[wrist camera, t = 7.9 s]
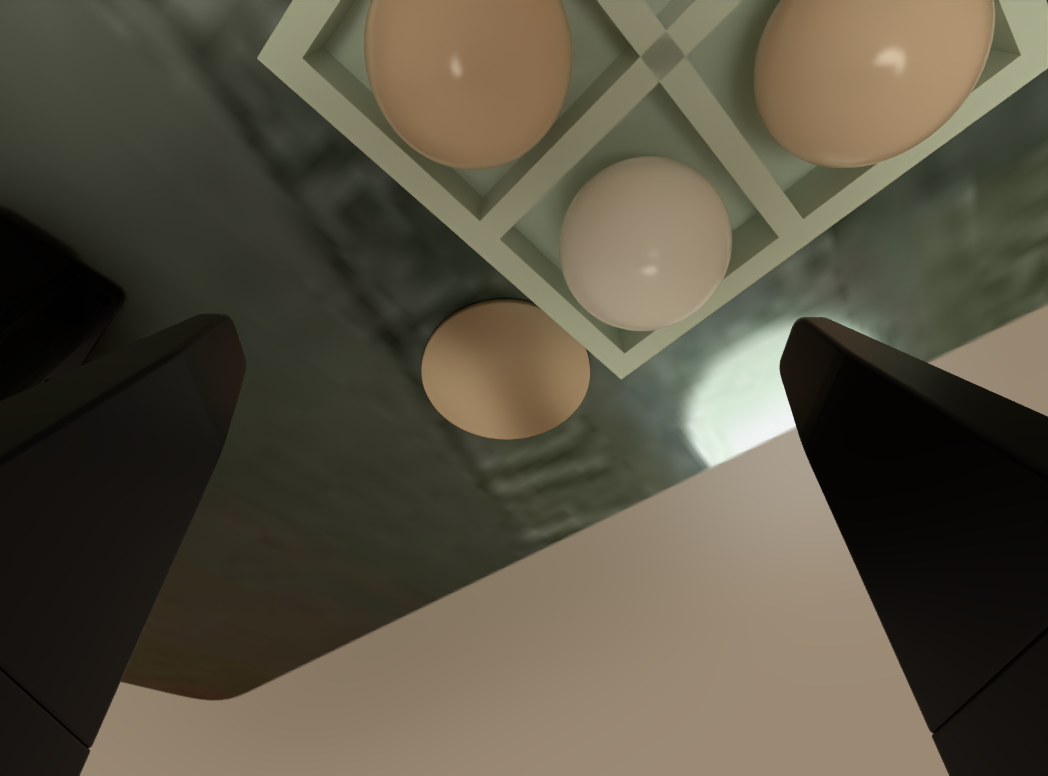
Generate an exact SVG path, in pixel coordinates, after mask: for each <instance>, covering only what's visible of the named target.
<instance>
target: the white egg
mask: <svg viewBox="0 0 1048 776" xmlns="http://www.w3.org/2000/svg"><path fill="white" fill-rule="evenodd" d="M731 252H732V227H731V221H730V217H729V214H728V210H727V207H726V205H725V203H724V201H723V199H722V197H721V196H720V194H719V193H718V191H717V190H716V188H715V187H714V185H713V184H712V183H711V182H710V181H709V180H708V179H707V178H706V177H705V176H703V175H702V174H701V173H700V172H698V171H697V170H696V169H694V168H693V167H691V166H689V165H687V164H685V163H682V162H680V161H677V160H674V159H671V158H666V157H661V156H640V157H634V158H629V159H625V160H623V161H620V162H617V163H614V164H612V165H610V166H608V167H606V168H605V169H603V170H602V171H600V172H599V173H597V174H596V175H594V176H593V177H592V178H591V179H590V180H589V181H587V182H586V183H585V185H584V186H583V187H582V188H581V189H580V190H579V191H578V193H577V194H576V195H575V197H574V198H573V200H572V201H571V203H570V205H569V207H568V209H567V211H566V214H565V217H564V219H563V222H562V226H561V230H560V236H559V260H560V265H561V270H562V273H563V276H564V279H565V282H566V284H567V286H568V288H569V290H570V291H571V293H572V294H573V296H574V297H575V299H576V300H577V301H578V303H579V304H580V305H581V306H582V307H583V308H584V309H585V310H586V311H588V312H589V313H590V314H591V315H593V316H594V317H595V318H597V319H599V320H600V321H602V322H604V323H606V324H609V325H611V326H614V327H617V328H620V329H624V330H631V331H651V330H657V329H662V328H666V327H669V326H672V325H675V324H677V323H679V322H681V321H683V320H685V319H687V318H688V317H690V316H691V315H693V314H694V313H696V312H697V311H698V310H699V309H700V308H702V307H703V306H704V305H705V304H706V303H707V302H708V301H709V300H710V298H711V297H712V296H713V295H714V293H715V292H716V291H717V289H718V287H719V286H720V284H721V282H722V280H723V278H724V276H725V274H726V271H727V268H728V265H729V262H730V258H731Z"/></svg>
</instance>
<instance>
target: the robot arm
mask: <svg viewBox="0 0 1048 776" xmlns="http://www.w3.org/2000/svg"><path fill="white" fill-rule="evenodd" d="M102 294H103V295H106V296H107V297H108V298H109V299H110V300H107V299H106V298H105V297H103V295H102ZM123 300H124V299H123V295H122V293H121V292H120V291H119V290H118V289H117V288H116V287H115V286H113V285H112V284H110V283H108V282H107V281H105V280H103V279H102V278H100V277H99V276H97V275H95V274H94V273H92V272H90V271H89V270H87V269H86V268H84V267H82V266H81V265H79V264H77V263H76V262H74V261H73V260H71V259H69V258H68V257H66V256H64V255H63V254H61V253H60V252H58V251H56V250H55V249H53V248H51V247H50V246H48V245H47V244H45V243H43V242H42V241H40V240H38V239H37V238H35V237H34V236H32V235H30V234H29V233H27V232H25V231H24V230H22V229H21V228H19V227H17V226H16V225H14V224H12V223H11V222H9V221H8V220H6V219H4V218H3V217H1V216H0V776H80V773H81V771H82V769H83V767H84V764H85V762H86V760H87V758H88V755H89V753H90V750H89V749H88V748H90V747H92V745H93V743H94V741H95V738H96V736H97V734H98V732H99V729H100V727H101V725H102V723H103V720H104V718H105V716H106V713H107V711H108V709H109V706H110V704H111V702H112V699H113V697H114V695H115V693H116V691H117V688H118V686H119V684H120V682H121V679H122V677H123V675H124V673H125V670H126V668H127V666H128V664H129V661H130V659H131V657H132V654H133V652H134V650H135V648H136V645H137V643H138V641H139V639H140V636H141V634H142V632H143V629H144V627H145V625H146V623H147V620H148V618H149V616H150V614H151V611H152V609H153V607H154V605H155V602H156V600H157V598H158V595H159V593H160V591H161V589H162V586H163V584H164V582H165V580H166V577H167V575H168V573H169V570H170V568H171V566H172V564H173V561H174V559H175V557H176V555H177V552H178V550H179V548H180V545H181V543H182V541H183V539H184V536H185V534H186V532H187V530H188V527H189V525H190V523H191V521H192V518H193V516H194V514H195V511H196V509H197V507H198V505H199V502H200V500H201V498H202V496H203V493H204V491H205V489H206V486H207V484H208V482H209V480H210V477H211V475H212V473H213V471H214V468H215V466H216V464H217V461H218V459H219V457H220V454H221V452H222V449H223V446H224V443H225V440H226V437H227V434H228V430H229V427H230V424H231V420H232V417H233V414H234V410H235V407H236V403H237V400H238V397H239V393H240V390H241V387H242V383H243V380H244V376H245V373H246V359H245V355H244V352H243V350H242V347H241V344H240V341H239V338H238V335H237V332H236V329H235V326H234V323H233V321H232V320H231V318H230V317H229V316H227V315H226V314H199V315H196V316H194V317H191V318H189V319H187V320H185V321H182V322H180V323H178V324H175V325H173V326H171V327H169V328H166V329H164V330H162V331H160V332H157V333H155V334H153V335H150V336H148V337H146V338H144V339H141V340H139V341H137V342H134V343H132V344H130V345H128V346H125V347H123V348H121V349H118V350H116V351H114V352H112V353H109V354H107V355H105V356H102V357H100V358H98V359H96V360H93V361H91V362H89V363H87V364H84V363H85V361H86V359H87V358H88V356H89V355H90V353H91V352H92V350H93V348H94V347H95V345H96V344H97V342H98V341H99V339H100V338H101V336H102V334H103V333H104V331H105V330H106V328H107V327H108V325H109V324H110V322H111V320H112V319H113V317H114V316H115V314H116V313H117V311H118V309H119V308H120V306H121V305H122V303H123ZM83 364H84V365H83ZM780 375H781V378H782V382H783V385H784V388H785V391H786V395H787V398H788V401H789V404H790V408H791V411H792V414H793V417H794V421H795V424H796V427H797V430H798V434H799V437H800V440H801V442H802V445H803V448H804V450H805V453H806V455H807V458H808V460H809V463H810V465H811V467H812V469H813V472H814V474H815V476H816V478H817V481H818V483H819V485H820V487H821V489H822V492H823V494H824V496H825V498H826V501H827V503H828V505H829V507H830V510H831V512H832V514H833V516H834V518H835V520H836V523H837V525H838V527H839V530H840V532H841V534H842V536H843V538H844V541H845V543H846V545H847V547H848V550H849V552H850V554H851V556H852V559H853V561H854V563H855V565H856V568H857V570H858V572H859V574H860V576H861V579H862V581H863V583H864V585H865V587H866V590H867V592H868V594H869V596H870V599H871V601H872V603H873V605H874V608H875V610H876V612H877V614H878V617H879V619H880V621H881V623H882V626H883V628H884V630H885V632H886V635H887V637H888V639H889V641H890V643H891V646H892V648H893V650H894V652H895V655H896V657H897V659H898V661H899V664H900V666H901V668H902V670H903V672H904V674H905V677H906V679H907V681H908V684H909V686H910V688H911V690H912V693H913V695H914V697H915V699H916V701H917V704H918V706H919V708H920V710H921V713H922V715H923V717H924V719H925V722H926V724H927V726H928V728H929V730H930V732H932V733H933V735H932V738H933V740H934V742H935V745H936V747H937V749H938V751H939V754H940V756H941V758H942V760H943V763H944V765H945V767H946V769H947V772H948V774H949V776H1048V417H1047V416H1045V415H1043V414H1041V413H1039V412H1036V411H1034V410H1032V409H1030V408H1027V407H1025V406H1023V405H1021V404H1018V403H1016V402H1014V401H1012V400H1009V399H1007V398H1005V397H1003V396H1000V395H998V394H996V393H994V392H991V391H989V390H987V389H985V388H982V387H980V386H978V385H975V384H973V383H971V382H969V381H966V380H964V379H962V378H960V377H958V376H955V375H953V374H951V373H949V372H946V371H944V370H942V369H940V368H937V367H935V366H933V365H931V364H928V363H926V362H924V361H922V360H919V359H917V358H915V357H913V356H911V355H908V354H906V353H904V352H902V351H899V350H897V349H895V348H893V347H890V346H888V345H886V344H884V343H881V342H879V341H877V340H875V339H872V338H870V337H868V336H866V335H863V334H861V333H859V332H857V331H854V330H852V329H850V328H848V327H845V326H843V325H841V324H839V323H836V322H834V321H832V320H830V319H827V318H823V317H802V318H799V319H798V320H796V322H795V323H794V325H793V327H792V329H791V332H790V335H789V338H788V340H787V343H786V346H785V349H784V351H783V354H782V357H781V360H780Z"/></svg>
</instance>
